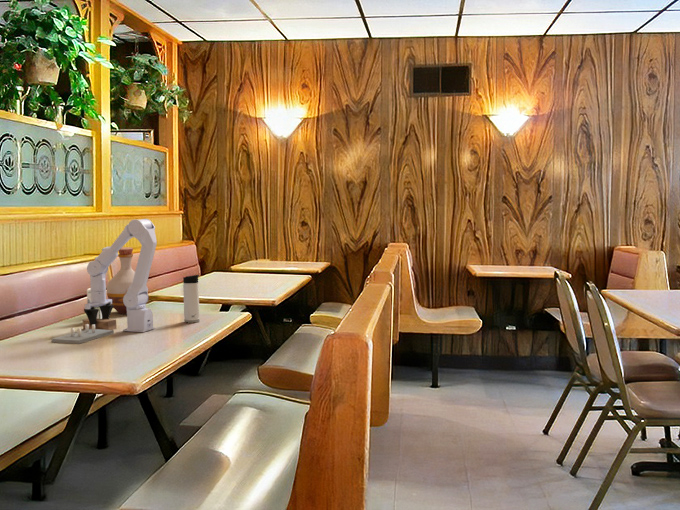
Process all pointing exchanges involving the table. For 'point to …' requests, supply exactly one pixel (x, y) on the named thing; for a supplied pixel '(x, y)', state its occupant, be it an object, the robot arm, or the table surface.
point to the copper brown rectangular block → (102, 324)
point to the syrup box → (99, 314)
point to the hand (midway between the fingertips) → (99, 324)
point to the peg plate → (82, 335)
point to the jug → (121, 281)
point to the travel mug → (191, 298)
